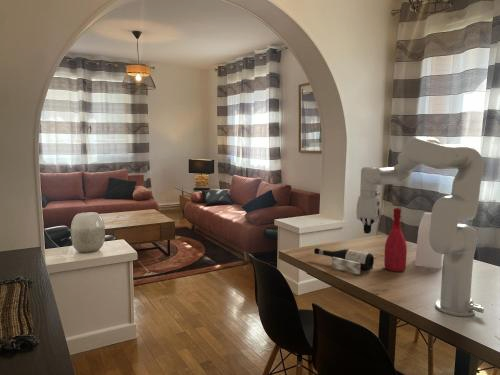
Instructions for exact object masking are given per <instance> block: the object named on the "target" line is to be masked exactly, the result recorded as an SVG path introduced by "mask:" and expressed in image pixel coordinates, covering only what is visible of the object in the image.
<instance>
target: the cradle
mask: <svg viewBox="0 0 500 375" xmlns="http://www.w3.org/2000/svg"><path fill="white" fill-rule="evenodd" d="M360 264H361V263H358V262H354V261H350V260H346V259H341V258H337V257H331V270H333V271H336V272H340V273H344V274H347V275H352V276H355V277H360V276H363V274H366V273H368V272H370V271H372V270H373V269H374V266H373V267H372V268H371V269H370V270H364V269H360Z"/></svg>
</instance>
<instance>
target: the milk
mask: <svg viewBox="0 0 500 375" xmlns="http://www.w3.org/2000/svg"><path fill="white" fill-rule="evenodd" d="M431 214H432V212H424V213H423V215H422V217H421V220H420V223H419V226H418V230H417V240H416V249H415V258H414V266H419V267H424V268H432V269H433V268H434V269H438V270H439V269H441V270H442V265H443V258H442V257H443V254H439V253H437V252H435V251H434V250H433V249H432V247H431V245H430V242H429V231H430V222H431Z"/></svg>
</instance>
